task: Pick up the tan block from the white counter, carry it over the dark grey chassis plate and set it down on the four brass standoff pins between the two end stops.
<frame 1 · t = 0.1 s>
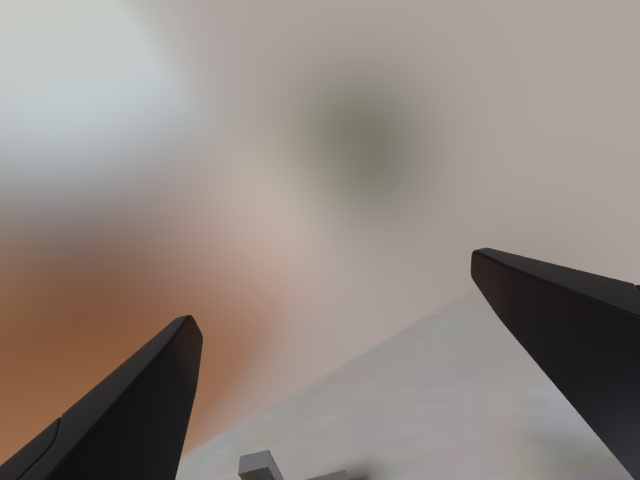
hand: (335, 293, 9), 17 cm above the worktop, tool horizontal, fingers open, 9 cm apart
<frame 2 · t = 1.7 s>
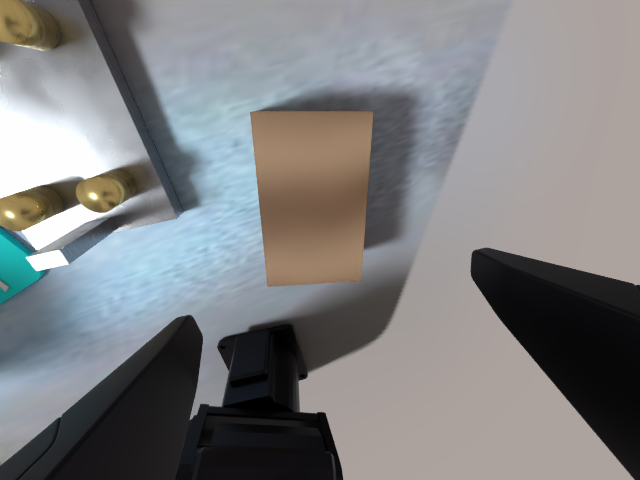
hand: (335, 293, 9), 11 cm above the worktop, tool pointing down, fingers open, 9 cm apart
tan block: (309, 190, 19), on the worktop
chassis: (58, 122, 16), on the worktop
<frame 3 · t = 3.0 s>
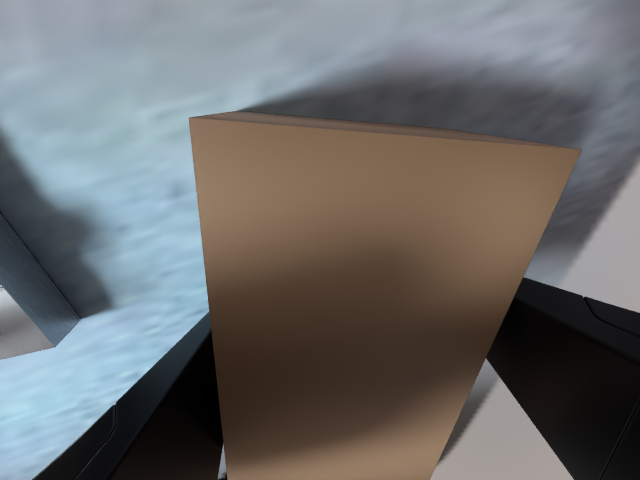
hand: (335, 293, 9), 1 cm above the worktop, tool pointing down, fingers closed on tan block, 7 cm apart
tan block: (331, 275, 10), on the worktop, touching gripper
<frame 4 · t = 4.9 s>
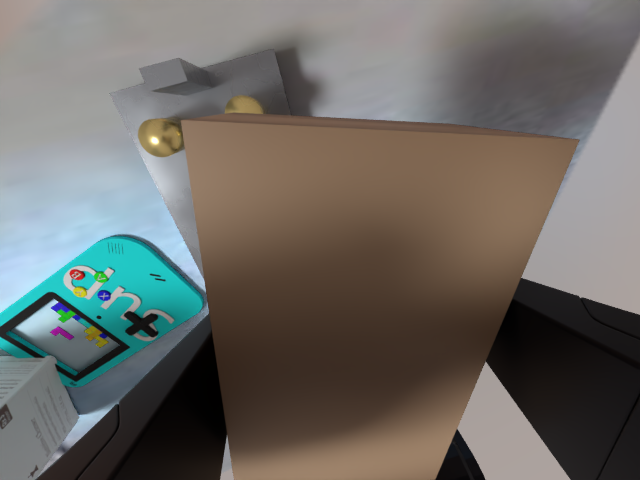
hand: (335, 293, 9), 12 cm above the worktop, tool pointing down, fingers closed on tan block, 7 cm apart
tan block: (333, 273, 10), point 11 cm above the worktop, touching gripper
skincare box: (32, 384, 24), on the worktop
handheld gaming console: (101, 311, 22), on the worktop
chassis: (239, 183, 19), on the worktop
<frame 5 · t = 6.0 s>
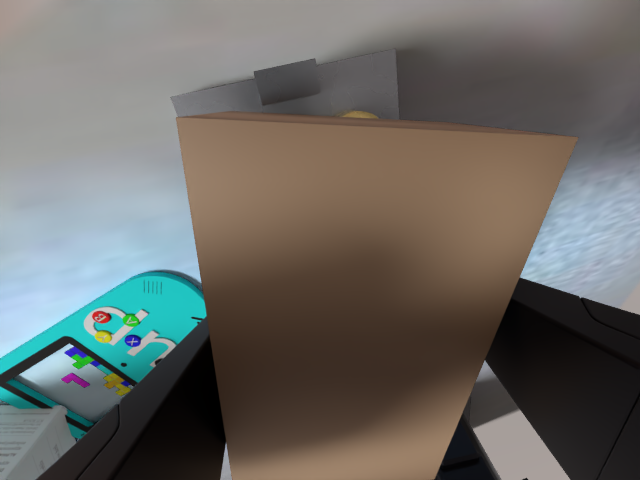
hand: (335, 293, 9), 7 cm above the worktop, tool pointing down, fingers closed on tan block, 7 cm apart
tan block: (331, 273, 10), point 6 cm above the worktop, touching gripper
skincare box: (34, 434, 20), on the worktop
handheld gaming console: (125, 354, 18), on the worktop
chassis: (313, 214, 15), on the worktop
when the fingers open (6 cm above the worktop, at t = 6.7 s): tan block drops 1 cm, resting on chassis.
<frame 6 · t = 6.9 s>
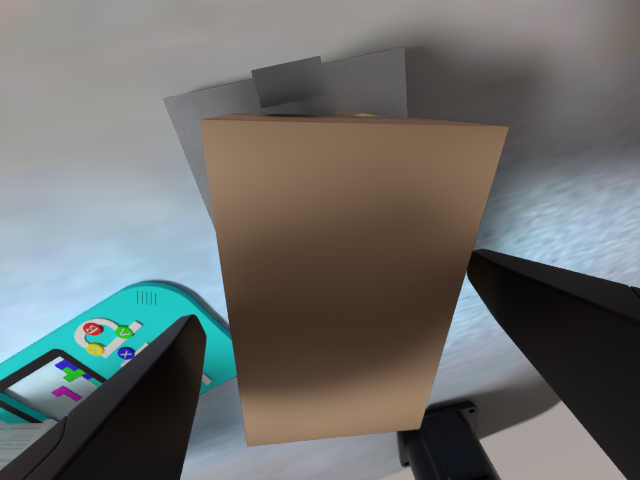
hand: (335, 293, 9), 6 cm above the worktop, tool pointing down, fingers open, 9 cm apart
tan block: (326, 254, 11), point 3 cm above the worktop, touching chassis
skincare box: (25, 448, 19), on the worktop
handheld gaming console: (119, 366, 18), on the worktop
chassis: (316, 221, 14), on the worktop
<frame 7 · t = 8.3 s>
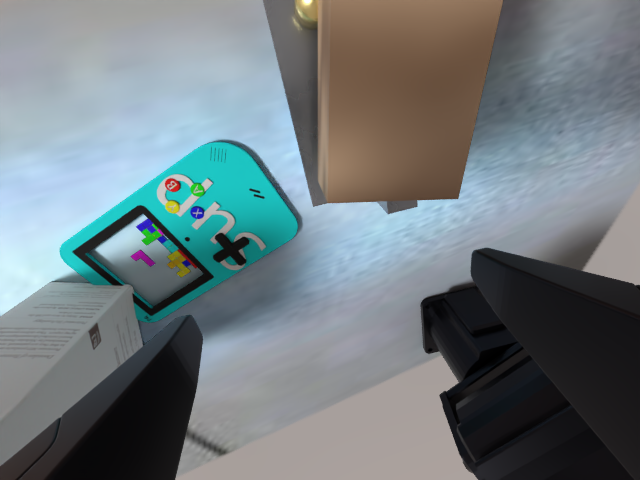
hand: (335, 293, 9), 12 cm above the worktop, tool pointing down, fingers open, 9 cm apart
tan block: (378, 78, 14), point 3 cm above the worktop, touching chassis
skincare box: (102, 319, 22), on the worktop
handheld gaming console: (186, 235, 21), on the worktop
chassis: (359, 83, 17), on the worktop
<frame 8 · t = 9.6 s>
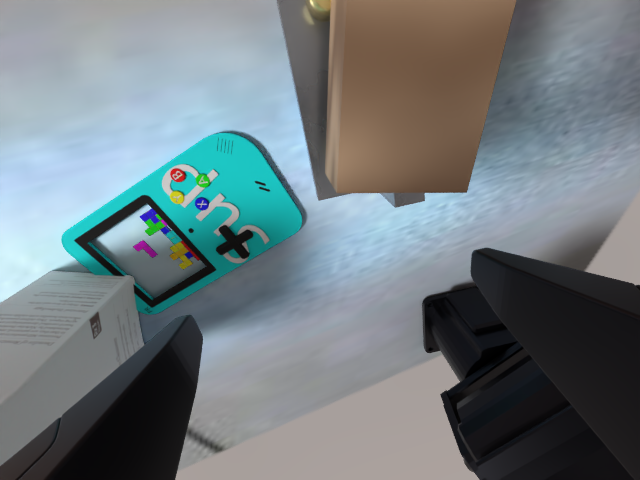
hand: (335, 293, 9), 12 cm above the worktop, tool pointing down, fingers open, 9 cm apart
tan block: (388, 71, 14), point 3 cm above the worktop, touching chassis
skincare box: (102, 310, 22), on the worktop
handheld gaming console: (189, 227, 20), on the worktop
chassis: (368, 77, 17), on the worktop
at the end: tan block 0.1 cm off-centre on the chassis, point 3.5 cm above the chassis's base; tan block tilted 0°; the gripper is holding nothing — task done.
